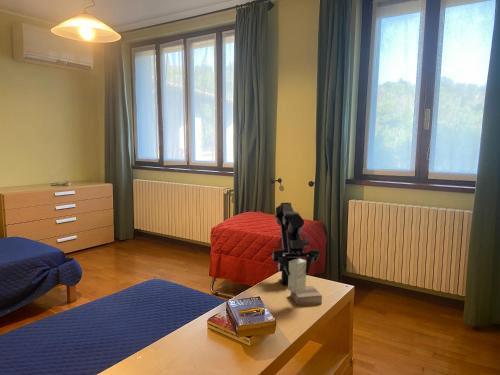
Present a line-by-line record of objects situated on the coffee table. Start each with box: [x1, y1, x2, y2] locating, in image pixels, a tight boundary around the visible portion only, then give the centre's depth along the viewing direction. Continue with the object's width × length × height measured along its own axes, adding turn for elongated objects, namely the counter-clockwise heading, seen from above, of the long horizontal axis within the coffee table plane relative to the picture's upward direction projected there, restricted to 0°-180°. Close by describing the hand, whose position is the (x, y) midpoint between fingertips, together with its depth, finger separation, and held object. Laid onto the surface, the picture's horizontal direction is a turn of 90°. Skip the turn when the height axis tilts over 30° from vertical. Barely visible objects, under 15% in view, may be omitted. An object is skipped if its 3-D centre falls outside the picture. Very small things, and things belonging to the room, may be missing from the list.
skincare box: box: [287, 258, 307, 293], centre depth 152 cm, size 6×4×12 cm
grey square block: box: [290, 285, 323, 307], centre depth 159 cm, size 10×10×4 cm
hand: (297, 275), depth 150 cm, fingers closed on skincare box, 7 cm apart
